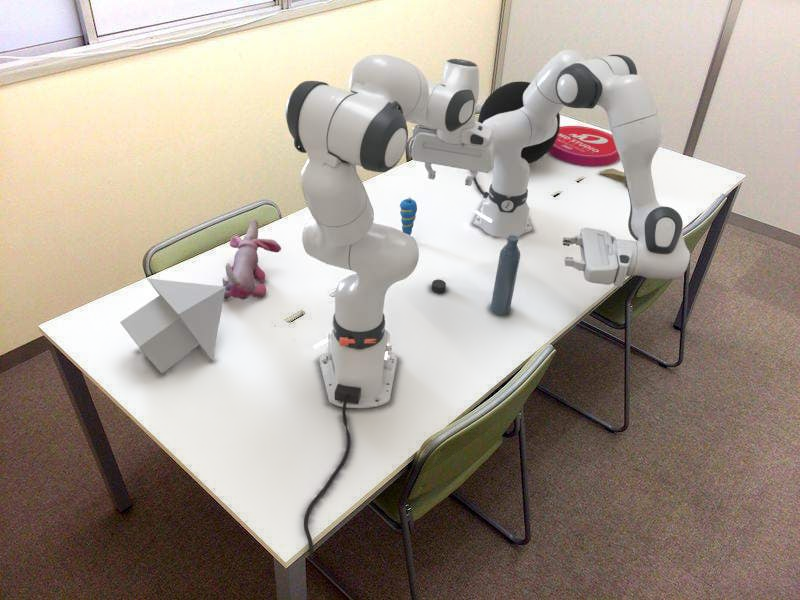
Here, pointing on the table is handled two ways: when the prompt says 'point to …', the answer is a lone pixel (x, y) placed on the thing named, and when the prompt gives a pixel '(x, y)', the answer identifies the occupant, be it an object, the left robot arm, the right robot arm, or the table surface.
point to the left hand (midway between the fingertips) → (449, 181)
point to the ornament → (408, 214)
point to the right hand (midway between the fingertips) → (563, 250)
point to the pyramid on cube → (176, 321)
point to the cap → (438, 286)
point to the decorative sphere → (512, 100)
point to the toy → (247, 265)
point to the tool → (614, 174)
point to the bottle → (506, 277)
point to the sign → (584, 146)
